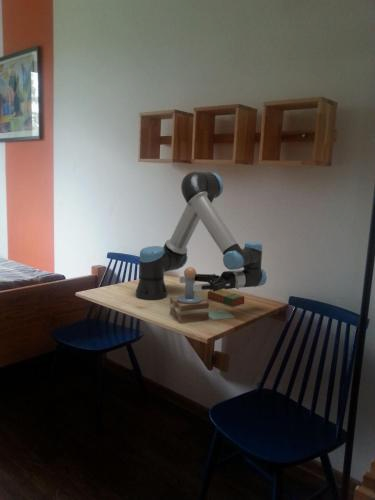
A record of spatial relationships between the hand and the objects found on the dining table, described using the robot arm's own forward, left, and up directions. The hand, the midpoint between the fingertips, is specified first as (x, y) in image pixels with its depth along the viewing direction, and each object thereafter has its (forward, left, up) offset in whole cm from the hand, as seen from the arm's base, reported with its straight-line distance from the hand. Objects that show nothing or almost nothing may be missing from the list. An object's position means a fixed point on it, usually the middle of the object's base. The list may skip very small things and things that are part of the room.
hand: (186, 283), depth 170 cm
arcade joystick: (0, +2, -7) cm, 8 cm away
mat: (+2, +14, -14) cm, 20 cm away
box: (0, +2, -14) cm, 15 cm away
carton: (-15, +27, -15) cm, 35 cm away
